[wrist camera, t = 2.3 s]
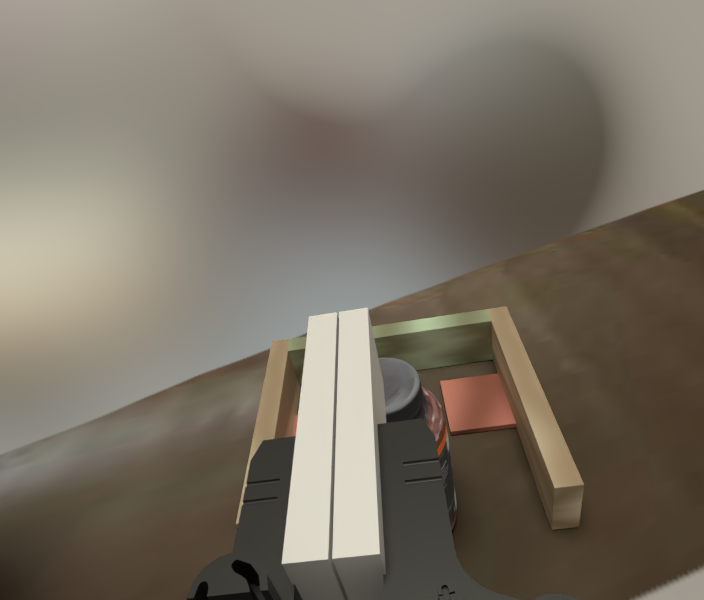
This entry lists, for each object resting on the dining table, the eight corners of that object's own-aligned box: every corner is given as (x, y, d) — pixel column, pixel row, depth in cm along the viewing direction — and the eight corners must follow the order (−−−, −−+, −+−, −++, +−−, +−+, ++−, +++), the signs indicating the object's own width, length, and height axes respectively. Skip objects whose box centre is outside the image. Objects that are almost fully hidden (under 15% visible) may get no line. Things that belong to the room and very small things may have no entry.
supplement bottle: (470, 487, 32) (458, 354, 25) (439, 577, 28) (415, 446, 21) (385, 461, 35) (355, 335, 28) (345, 539, 31) (300, 413, 24)
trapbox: (256, 560, 31) (235, 523, 28) (284, 376, 44) (272, 341, 41) (578, 526, 29) (583, 484, 26) (506, 345, 42) (506, 306, 39)
